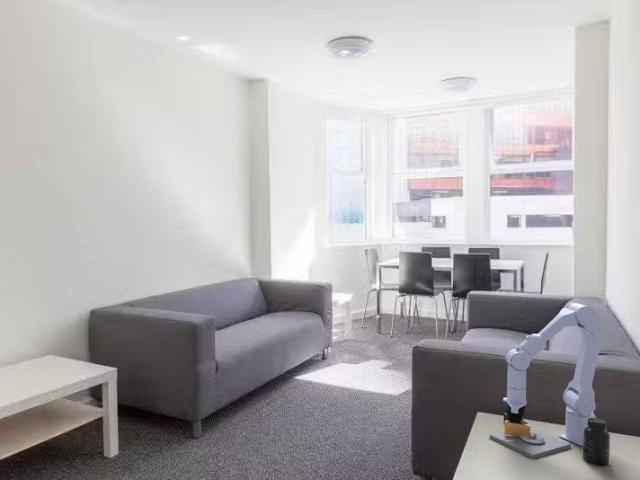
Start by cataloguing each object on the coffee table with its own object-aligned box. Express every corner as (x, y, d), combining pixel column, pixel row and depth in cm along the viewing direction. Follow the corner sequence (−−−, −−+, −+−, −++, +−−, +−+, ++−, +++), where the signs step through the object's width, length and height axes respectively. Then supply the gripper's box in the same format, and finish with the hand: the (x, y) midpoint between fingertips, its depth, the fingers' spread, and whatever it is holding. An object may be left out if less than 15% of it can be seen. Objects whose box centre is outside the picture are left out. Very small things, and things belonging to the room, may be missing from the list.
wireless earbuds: (521, 429, 163) (522, 420, 163) (502, 422, 168) (503, 413, 168) (529, 426, 165) (529, 417, 165) (509, 420, 171) (510, 411, 171)
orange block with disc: (544, 437, 152) (544, 423, 152) (545, 445, 146) (545, 431, 146) (504, 430, 157) (505, 417, 157) (504, 438, 150) (504, 424, 150)
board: (526, 428, 163) (526, 424, 163) (570, 447, 149) (571, 442, 149) (489, 438, 154) (489, 433, 154) (532, 458, 140) (533, 453, 140)
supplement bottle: (613, 468, 136) (614, 426, 136) (587, 465, 137) (588, 423, 137) (603, 457, 142) (605, 417, 142) (579, 454, 144) (580, 415, 144)
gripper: (505, 379, 165) (504, 418, 165) (501, 391, 152) (500, 433, 152) (527, 382, 162) (526, 422, 162) (525, 394, 148) (524, 438, 149)
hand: (515, 428), depth 156 cm, fingers open, 4 cm apart
